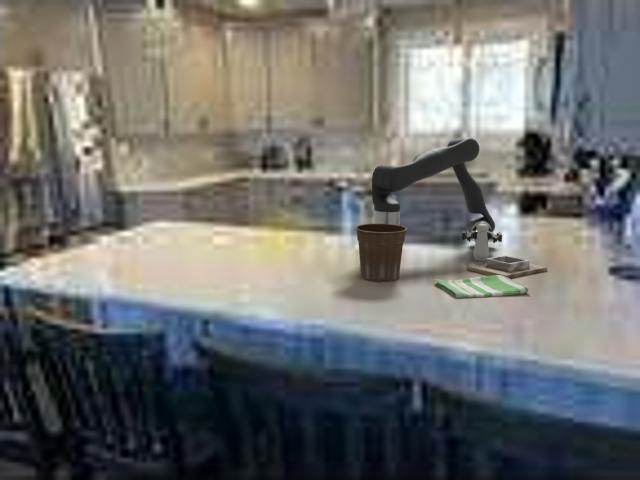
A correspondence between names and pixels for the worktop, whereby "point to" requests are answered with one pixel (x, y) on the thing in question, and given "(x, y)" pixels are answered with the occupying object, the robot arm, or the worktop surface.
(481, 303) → the worktop surface
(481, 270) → the caddy board
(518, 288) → the dish towel
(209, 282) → the worktop surface
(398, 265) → the plant pot
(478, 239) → the salt shaker
